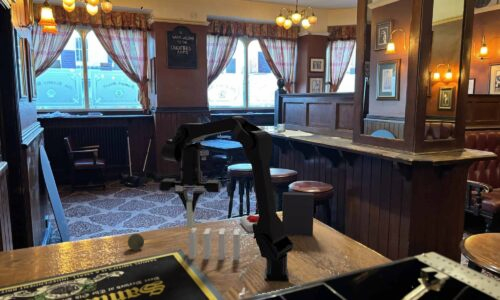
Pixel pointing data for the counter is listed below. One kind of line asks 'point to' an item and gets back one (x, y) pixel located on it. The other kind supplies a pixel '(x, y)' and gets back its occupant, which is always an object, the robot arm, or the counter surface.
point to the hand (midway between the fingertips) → (190, 211)
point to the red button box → (249, 222)
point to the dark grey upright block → (298, 213)
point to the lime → (135, 241)
